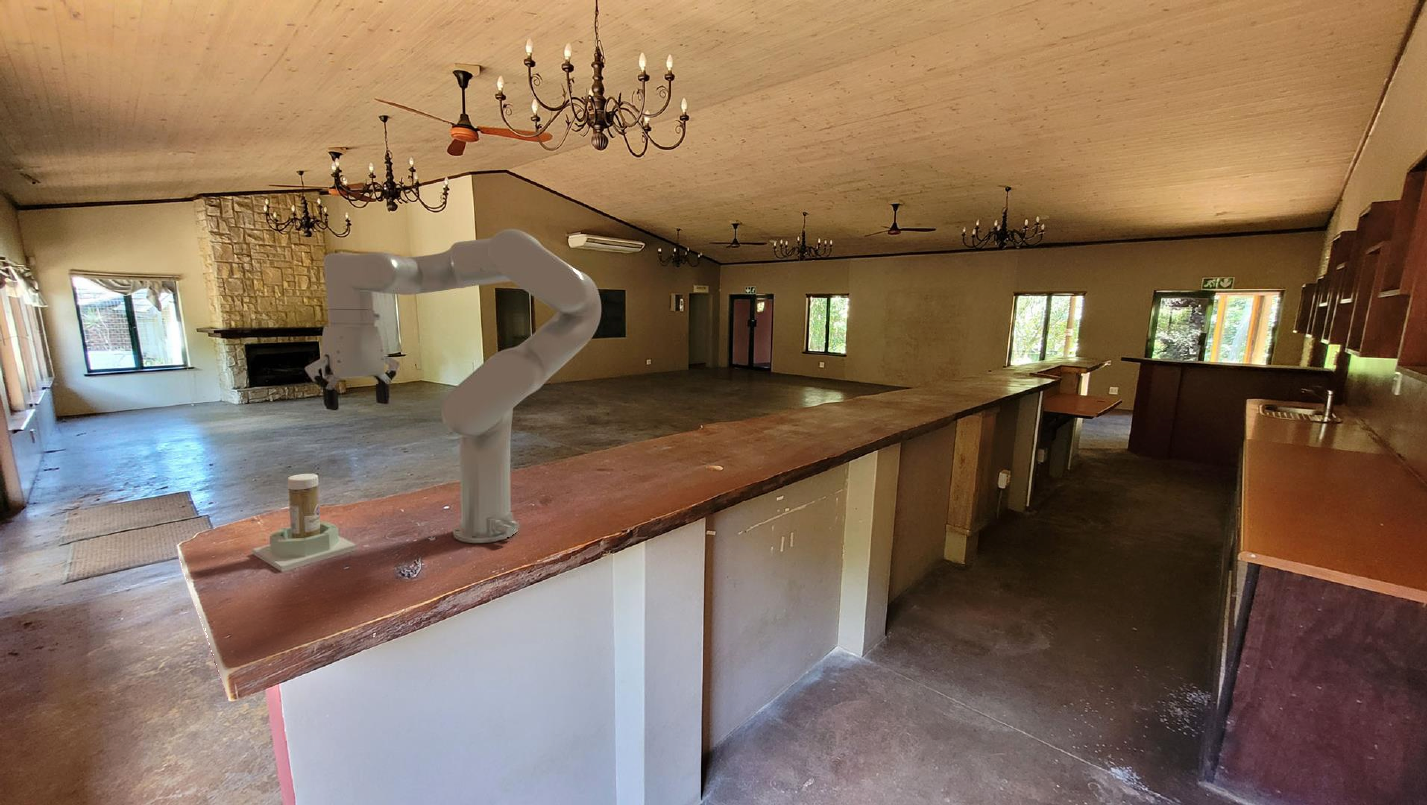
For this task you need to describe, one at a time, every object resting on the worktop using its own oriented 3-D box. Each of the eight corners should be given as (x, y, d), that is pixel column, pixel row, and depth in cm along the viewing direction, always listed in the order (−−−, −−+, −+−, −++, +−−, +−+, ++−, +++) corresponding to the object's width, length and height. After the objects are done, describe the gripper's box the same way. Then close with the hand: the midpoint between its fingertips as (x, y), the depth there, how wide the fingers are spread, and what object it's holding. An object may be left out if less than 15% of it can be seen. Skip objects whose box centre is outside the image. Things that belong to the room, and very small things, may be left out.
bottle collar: (357, 549, 106) (356, 529, 106) (282, 571, 96) (280, 549, 96) (326, 534, 113) (325, 515, 112) (253, 554, 103) (251, 533, 102)
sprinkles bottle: (321, 548, 104) (317, 477, 102) (290, 553, 101) (286, 480, 100) (321, 540, 108) (318, 471, 106) (292, 544, 105) (287, 474, 103)
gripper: (384, 319, 119) (389, 399, 121) (291, 318, 104) (299, 410, 106) (406, 319, 115) (411, 402, 118) (313, 319, 100) (321, 414, 103)
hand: (358, 406), depth 112 cm, fingers open, 9 cm apart
